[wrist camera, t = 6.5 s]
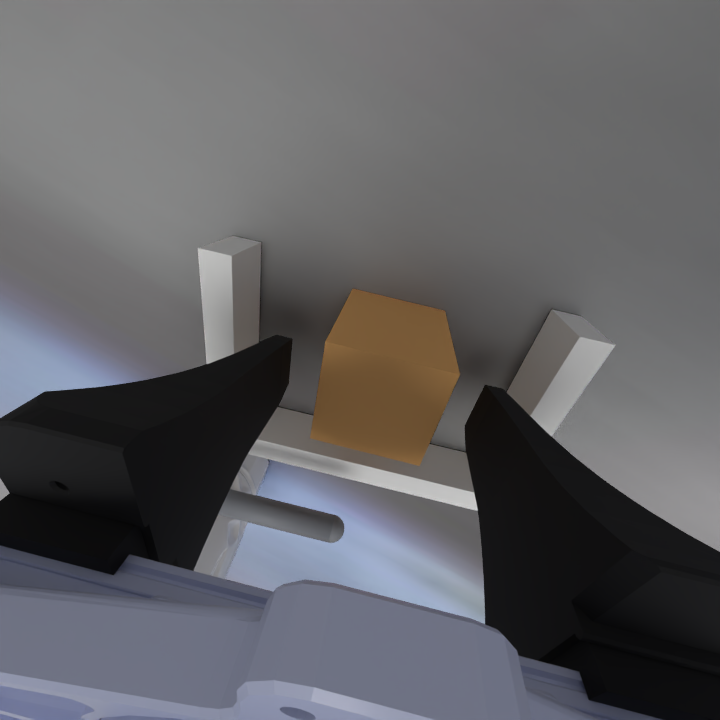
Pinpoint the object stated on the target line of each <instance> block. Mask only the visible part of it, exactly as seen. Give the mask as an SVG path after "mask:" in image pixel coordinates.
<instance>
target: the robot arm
mask: <svg viewBox="0 0 720 720" xmlns="http://www.w3.org/2000/svg"><path fill="white" fill-rule="evenodd" d="M291 350H292V338H287V337H283V336H279V335H275V336H272V337H270V338H268V339H266V340H263V341H261V342H259V343H257V344H255V345H253V346H250V347H248V348H246V349H244V350H241V351H239V352H237V353H235V354H232V355H230V356H227V357H224V358H222V359H219V360H217V361H214V362H212V363H209V364H206V365H203V366H200V367H197V368H193V369H190V370H187V371H183V372H179V373H176V374H171V375H166V376H162V377H157V378H153V379H148V380H143V381H138V382H132V383H126V384H119V385H112V386H104V387H96V388H85V389H73V390H61V391H47V392H43V393H42V394H40V395H38V396H37V397H35V398H33V399H32V400H30V401H28V402H27V403H25V404H23V405H22V406H20V407H18V408H17V409H15V410H13V411H12V412H10V413H8V414H7V415H5V416H3V417H2V418H0V478H1V480H2V481H3V483H4V485H5V486H6V488H7V489H8V491H9V493H10V494H8V495H7V496H6V497H5V498H3V499H2V500H1V501H0V720H720V552H719V551H717V550H715V549H713V548H711V547H710V546H708V545H706V544H704V543H702V542H701V541H699V540H697V539H695V538H693V537H691V536H690V535H688V534H686V533H684V532H683V531H681V530H679V529H678V528H676V527H674V526H673V525H671V524H669V523H668V522H666V521H665V520H663V519H661V518H660V517H658V516H656V515H655V514H653V513H651V512H650V511H648V510H647V509H645V508H644V507H642V506H641V505H639V504H638V503H636V502H634V501H633V500H632V499H630V498H629V497H627V496H626V495H624V494H623V493H621V492H620V491H619V490H617V489H616V488H614V487H613V486H611V485H610V484H609V483H607V482H606V481H604V480H603V479H602V478H600V477H599V476H598V475H596V474H595V473H594V472H593V471H591V470H590V469H589V468H588V467H586V466H585V465H584V464H582V463H581V462H580V461H579V460H577V459H576V458H575V457H574V456H573V455H571V454H570V453H569V452H568V451H567V450H566V449H565V448H563V447H562V446H561V445H560V444H559V443H558V442H557V441H556V440H555V439H553V438H552V437H551V436H550V435H549V434H548V433H547V432H546V431H545V430H544V429H543V428H542V427H541V426H540V425H539V424H538V423H537V422H536V421H535V420H534V419H533V418H532V417H531V416H530V415H529V414H528V413H527V412H526V411H525V410H524V409H523V408H522V407H521V406H520V405H519V404H518V403H517V402H516V401H515V400H514V399H513V398H512V397H511V396H510V395H509V394H507V393H506V392H505V391H504V390H503V389H501V388H497V387H492V386H488V385H485V386H484V388H483V390H482V392H481V394H480V396H479V398H478V400H477V402H476V404H475V406H474V408H473V410H472V412H471V414H470V416H469V418H468V420H467V422H466V425H465V444H466V454H467V459H468V464H469V469H470V474H471V479H472V484H473V489H474V494H475V499H476V503H477V509H478V515H479V522H480V533H481V544H482V558H483V573H484V595H485V624H483V623H480V622H478V621H476V620H473V619H470V618H466V617H463V616H459V615H455V614H451V613H447V612H443V611H439V610H435V609H432V608H428V607H424V606H420V605H416V604H412V603H408V602H405V601H401V600H397V599H393V598H389V597H385V596H381V595H377V594H374V593H370V592H366V591H362V590H358V589H354V588H350V587H346V586H343V585H339V584H335V583H328V582H320V581H312V580H301V581H296V582H292V583H287V584H283V585H281V586H280V587H278V588H276V590H275V591H274V592H272V591H268V590H264V589H260V588H257V587H253V586H249V585H245V584H241V583H237V582H234V581H230V580H226V579H222V578H218V577H214V576H211V575H207V574H203V573H199V572H195V571H194V568H195V566H196V564H197V561H198V559H199V557H200V554H201V552H202V549H203V547H204V545H205V542H206V540H207V538H208V536H209V534H210V531H211V529H212V527H213V525H214V522H215V520H216V518H217V516H218V513H219V511H220V509H221V507H222V505H223V503H224V501H225V499H226V496H227V494H228V492H229V490H230V488H231V486H232V484H233V482H234V480H235V478H236V476H237V474H238V472H239V470H240V468H241V466H242V464H243V462H244V460H245V458H246V456H247V455H248V453H249V451H250V450H251V448H252V446H253V445H254V443H255V442H256V440H257V439H258V437H259V435H260V434H261V432H262V431H263V429H264V428H265V426H266V424H267V423H268V421H269V420H270V418H271V417H272V415H273V413H274V412H275V410H276V409H277V407H278V405H279V403H280V401H281V399H282V397H283V395H284V393H285V390H286V388H287V386H288V384H289V373H290V362H291Z"/></svg>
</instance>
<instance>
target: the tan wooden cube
mask: <svg viewBox="0 0 720 720" xmlns="http://www.w3.org/2000/svg"><path fill="white" fill-rule="evenodd" d="M459 376H460V372H459V368H458V364H457V359H456V355H455V351H454V347H453V342H452V338H451V334H450V330H449V325H448V321H447V317H446V313H445V311H444V310H440V309H436V308H432V307H427V306H423V305H419V304H415V303H411V302H407V301H403V300H398V299H394V298H390V297H386V296H382V295H378V294H374V293H369V292H365V291H361V290H357V289H352V291H351V293H350V295H349V297H348V299H347V301H346V303H345V305H344V306H343V308H342V310H341V312H340V314H339V316H338V318H337V320H336V322H335V324H334V326H333V328H332V330H331V332H330V334H329V335H328V337H327V339H326V341H325V347H324V353H323V360H322V366H321V372H320V378H319V385H318V391H317V397H316V403H315V410H314V416H313V422H312V428H311V435H310V439H314V440H318V441H322V442H326V443H330V444H334V445H338V446H342V447H346V448H350V449H354V450H358V451H362V452H366V453H370V454H374V455H378V456H382V457H386V458H390V459H394V460H398V461H402V462H406V463H409V464H413V465H417V466H420V464H421V462H422V459H423V457H424V455H425V453H426V450H427V448H428V446H429V444H430V441H431V439H432V437H433V435H434V432H435V430H436V428H437V426H438V423H439V421H440V419H441V416H442V414H443V412H444V410H445V407H446V405H447V403H448V401H449V398H450V396H451V394H452V392H453V389H454V387H455V385H456V383H457V380H458V378H459Z"/></svg>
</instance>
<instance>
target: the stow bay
mask: <svg viewBox="0 0 720 720" xmlns="http://www.w3.org/2000/svg"><path fill="white" fill-rule="evenodd" d="M198 257H199V270H200V283H201V296H202V309H203V322H204V335H205V348H206V361H207V364H209V363H212V362H214V361H217V360H219V359H222V358H224V357H227V356H230V355H232V354H235V353H237V352H239V351H241V350H244V349H246V348H248V347H250V346H253V345H255V344H257V343H259V315H260V275H261V242H258V241H253V240H249V239H245V238H240V237H236V236H231V237H228V238H225V239H222V240H219V241H217V242H214V243H211V244H208V245H205V246H202V247H199V248H198ZM614 347H615V344H614V343H613V342H611V341H610V340H609V339H608V338H607V337H605V336H604V335H603V334H602V333H601V332H599V331H598V330H597V329H596V328H595V327H594V326H592V325H591V324H590V323H589V322H588V321H586V320H585V319H584V318H583V317H582V316H578V315H574V314H570V313H565V312H561V311H557V310H551V311H550V313H549V315H548V317H547V319H546V321H545V323H544V324H543V326H542V328H541V330H540V332H539V334H538V335H537V337H536V339H535V341H534V343H533V345H532V346H531V348H530V350H529V352H528V354H527V356H526V357H525V359H524V361H523V363H522V365H521V367H520V369H519V370H518V372H517V374H516V376H515V378H514V380H513V381H512V383H511V385H510V387H509V389H508V391H507V392H506V393H507V394H509V395H510V396H511V397H512V398H513V399H514V400H515V401H516V402H517V403H518V404H519V405H520V406H521V407H522V408H523V409H524V410H525V411H526V412H527V413H528V414H529V415H530V416H531V417H532V418H533V419H534V420H535V421H536V422H537V423H538V424H539V425H540V426H541V427H542V428H543V429H544V430H545V431H546V432H547V433H548V434H549V435H550V436H551V437H552V435H553V434H554V432H555V431H556V429H557V428H558V427H559V425H560V424H561V422H562V421H563V419H564V418H565V417H566V415H567V414H568V412H569V411H570V410H571V408H572V407H573V405H574V404H575V402H576V401H577V400H578V398H579V397H580V395H581V394H582V392H583V391H584V390H585V388H586V387H587V385H588V384H589V382H590V381H591V380H592V378H593V377H594V375H595V374H596V372H597V371H598V370H599V368H600V367H601V365H602V364H603V363H604V361H605V360H606V358H607V357H608V355H609V354H610V353H611V351H612V350H613V348H614ZM312 422H313V415H309V414H305V413H301V412H297V411H292V410H288V409H284V408H280V407H277V409H276V410H275V412H274V413H273V415H272V417H271V418H270V420H269V421H268V423H267V424H266V426H265V428H264V429H263V431H262V432H261V434H260V435H259V437H258V439H257V440H256V442H255V443H254V445H253V446H252V448H251V450H250V451H249V453H248V454H250V455H254V456H258V457H262V458H266V459H270V460H274V461H278V462H282V463H286V464H290V465H294V466H298V467H302V468H306V469H310V470H314V471H318V472H323V473H327V474H331V475H335V476H339V477H343V478H347V479H351V480H355V481H359V482H363V483H367V484H371V485H375V486H379V487H383V488H387V489H391V490H395V491H399V492H403V493H407V494H412V495H416V496H420V497H424V498H428V499H432V500H436V501H440V502H444V503H448V504H452V505H456V506H460V507H464V508H468V509H472V510H476V511H478V509H477V503H476V499H475V494H474V489H473V484H472V479H471V474H470V469H469V464H468V459H467V454H466V453H465V452H461V451H457V450H453V449H449V448H445V447H440V446H436V445H432V444H429V446H428V448H427V450H426V453H425V455H424V457H423V459H422V462H421V464H420V466H417V465H413V464H409V463H406V462H402V461H398V460H394V459H390V458H386V457H382V456H378V455H374V454H370V453H366V452H362V451H358V450H354V449H350V448H346V447H342V446H338V445H334V444H330V443H326V442H322V441H318V440H314V439H310V435H311V428H312ZM218 515H222V516H226V517H230V518H233V519H237V520H241V521H245V522H249V523H253V524H257V525H261V526H265V527H269V528H273V529H277V530H281V531H285V532H289V533H293V534H297V535H301V536H305V537H309V538H313V539H317V540H321V541H325V542H329V543H334V542H337V541H338V540H339V539H340V538H341V537H342V535H343V533H344V523H343V521H342V520H341V518H339V517H338V516H336V515H332V514H328V513H324V512H320V511H316V510H312V509H308V508H304V507H300V506H296V505H292V504H288V503H284V502H280V501H276V500H272V499H268V498H264V497H260V496H256V495H252V494H248V493H244V492H240V491H236V490H232V489H230V490H229V492H228V494H227V496H226V499H225V501H224V503H223V505H222V507H221V509H220V511H219V513H218Z"/></svg>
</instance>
